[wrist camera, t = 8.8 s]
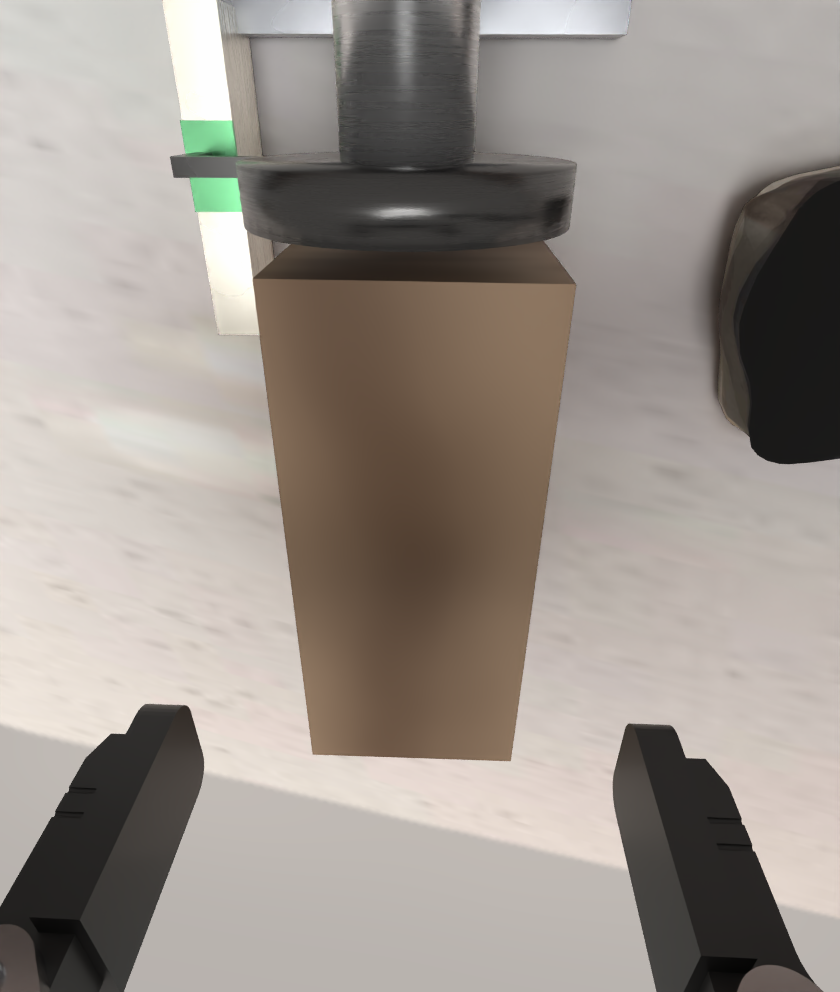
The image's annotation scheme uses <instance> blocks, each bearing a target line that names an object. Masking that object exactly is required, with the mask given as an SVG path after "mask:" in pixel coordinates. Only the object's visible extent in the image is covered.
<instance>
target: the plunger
mask: <svg viewBox="0 0 840 992" xmlns="http://www.w3.org/2000/svg"><path fill="white" fill-rule="evenodd" d="M331 4H332V22H333V40H334V58H335V76H336V94H337V113H338V131H339V149H340V152H321V153H300V154H283V155H271V156H213V152H194V153H188V154H182V155H177V156H171V157H170V159H171V164H172V170H173V176H174V178H238V186H239V193H240V201H241V208H242V216H243V223H244V228H245V230H247V231H248V232H249V233H251V234H254V235H256V236H258V237H262V238H265V239H269V240H273V241H278V242H282V243H288V244H295V245H301V246H310V247H318V248H329V249H342V250H359V251H386V252H433V251H460V250H477V249H489V248H499V247H508V246H516V245H522V244H528V243H534V242H539V241H543V240H548V239H551V238H554V237H557V236H560V235H562V234H564V233H565V232H566V231H568V230H569V226H570V218H571V210H572V202H573V194H574V185H575V177H576V169H577V163H575V162H573V161H569V160H564V159H558V158H550V157H541V156H529V155H516V154H498V153H475V152H474V147H475V124H476V102H477V79H478V57H479V34H480V11H481V0H331Z"/></svg>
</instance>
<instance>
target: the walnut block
mask: <svg viewBox="0 0 840 992" xmlns="http://www.w3.org/2000/svg"><path fill="white" fill-rule="evenodd" d="M252 280H253V288H254V296H255V303H256V311H257V319H258V327H259V335H260V343H261V351H262V359H263V366H264V374H265V382H266V390H267V398H268V406H269V414H270V422H271V429H272V437H273V445H274V453H275V461H276V469H277V477H278V485H279V492H280V500H281V508H282V516H283V524H284V532H285V540H286V548H287V555H288V563H289V571H290V579H291V587H292V595H293V603H294V611H295V618H296V626H297V634H298V642H299V650H300V658H301V666H302V674H303V682H304V689H305V697H306V705H307V713H308V721H309V729H310V737H311V745H312V752H313V754H315V755H344V756H374V757H404V758H433V759H463V760H492V761H511V755H512V748H513V741H514V733H515V726H516V719H517V712H518V704H519V697H520V690H521V682H522V675H523V668H524V661H525V653H526V646H527V639H528V632H529V624H530V617H531V610H532V602H533V595H534V588H535V581H536V573H537V566H538V559H539V551H540V544H541V537H542V530H543V522H544V515H545V508H546V501H547V493H548V486H549V479H550V471H551V464H552V457H553V450H554V442H555V435H556V428H557V421H558V413H559V406H560V399H561V391H562V384H563V377H564V370H565V362H566V355H567V348H568V340H569V333H570V326H571V319H572V311H573V304H574V297H575V290H576V283H575V282H574V281H573V279H572V278H571V277H570V275H569V274H568V273H567V271H566V270H565V269H564V268H563V266H562V265H561V264H560V262H559V261H558V260H557V258H556V257H555V256H554V254H553V253H552V252H551V250H550V249H549V248H548V246H547V245H546V244H545V242H544V241H539V242H534V243H528V244H522V245H516V246H508V247H499V248H489V249H477V250H460V251H433V252H386V251H359V250H342V249H329V248H318V247H310V246H301V245H295V244H291V245H289V246H288V247H287V248H286V249H285V250H284V251H283V252H282V253H280V254H279V255H278V256H277V257H276V258H275V259H274V260H273V261H272V262H270V263H269V264H268V265H267V266H266V267H265V268H264V269H263V270H261V271H260V272H259V273H258V274H257V275H256V276H255V277H254V278H253V279H252Z"/></svg>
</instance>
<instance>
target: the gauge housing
mask: <svg viewBox="0 0 840 992" xmlns="http://www.w3.org/2000/svg"><path fill="white" fill-rule="evenodd" d="M162 2H163V8H164V14H165V20H166V26H167V32H168V38H169V44H170V50H171V56H172V62H173V68H174V74H175V80H176V86H177V92H178V98H179V104H180V110H181V116H182V120H180V123H181V129H182V135H183V141H184V147H185V153H186V154H188V153H194V152H213V156H262V147H261V138H260V129H259V120H258V111H257V102H256V94H255V85H254V76H253V67H252V58H251V49H250V40H249V37H266V38H333V22H332V4H331V0H162ZM631 3H632V0H481V11H480V34H479V38H620V37H622V36H625V35H627V31H628V24H629V17H630V10H631ZM190 182H191V188H192V194H193V200H194V206H195V212H198V218H199V224H200V230H201V236H202V242H203V247H204V253H205V259H206V265H207V271H208V277H209V283H210V289H211V295H212V301H213V307H214V313H215V319H216V325H217V331H218V335H259V327H258V319H257V311H256V303H255V296H254V288H253V280H252V279H253V278H254V277H255V276H256V275H257V274H258V273H259V272H260V271H261V270H263V269H264V268H265V267H266V266H267V265H268V264H269V263H270V262H272V261H273V260H274V254H273V245H272V240H269V239H265V238H262V237H258V236H256V235H254V234H251V233H249V232H248V231H247V230H245V228H244V223H243V216H242V208H241V201H240V193H239V186H238V178H190Z"/></svg>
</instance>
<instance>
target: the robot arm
mask: <svg viewBox="0 0 840 992" xmlns="http://www.w3.org/2000/svg"><path fill="white" fill-rule="evenodd" d="M203 773H204V757H203V753H202V749H201V746H200V742H199V739H198V735H197V732H196V728H195V725H194V721H193V718H192V714H191V711H190V709H189V707H188V706H186V705H162V704H145V705H144V706H142V707H141V708H140V710H139V711H138V712H137V714H136V716H135V718H134V720H133V722H132V723H131V725H130V727H129V729H128V731H127V733H126V734H110V735H109V736H108V737H107V738H106V739H105V740H104V741H103V742H102V743H101V744H100V745H99V746H98V747H97V748H96V749H95V750H94V751H93V752H92V753H91V754H89V756H87V757H86V759H85V760H84V762H83V764H82V765H81V767H80V769H79V771H78V772H77V774H76V776H75V778H74V779H73V781H72V783H71V785H70V786H69V792H68V793H65V795H64V797H63V799H62V800H61V802H60V804H59V805H58V807H57V809H56V811H55V812H56V813H55V816H54V817H52V818H51V819H50V821H49V823H48V825H47V826H46V828H45V830H44V831H43V833H42V835H41V837H40V838H39V840H38V842H37V844H36V845H35V847H34V849H33V851H32V852H31V854H30V856H29V858H28V859H27V861H26V863H25V865H24V866H23V868H22V870H21V872H20V873H19V875H18V877H17V878H16V880H15V882H14V884H13V885H12V887H11V889H10V891H9V893H8V894H7V896H6V898H5V899H4V901H3V903H2V905H1V906H0V992H124V989H125V987H126V984H127V981H128V979H129V976H130V974H131V971H132V968H133V966H134V963H135V960H136V958H137V955H138V952H139V950H140V947H141V945H142V942H143V939H144V937H145V934H146V931H147V929H148V926H149V923H150V921H151V918H152V916H153V913H154V910H155V907H156V905H157V902H158V900H159V897H160V894H161V892H162V889H163V886H164V883H165V881H166V879H167V876H168V873H169V871H170V868H171V865H172V863H173V860H174V857H175V855H176V852H177V849H178V847H179V844H180V841H181V839H182V836H183V834H184V831H185V828H186V825H187V823H188V820H189V818H190V815H191V812H192V810H193V807H194V805H195V802H196V799H197V797H198V794H199V791H200V788H201V784H202V779H203ZM613 800H614V807H615V812H616V817H617V821H618V826H619V830H620V834H621V839H622V843H623V847H624V852H625V856H626V861H627V865H628V869H629V874H630V877H631V882H632V886H633V891H634V895H635V900H636V904H637V908H638V912H639V917H640V921H641V926H642V930H643V935H644V939H645V943H646V948H647V952H648V956H649V961H650V965H651V969H652V974H653V978H654V982H655V987H656V991H657V992H823V991H822V990H821V989H820V988H819V987H818V986H817V985H816V984H815V983H814V981H813V980H812V979H811V978H810V976H809V975H808V973H807V972H806V970H805V968H804V967H803V965H802V964H801V962H800V960H799V958H798V955H797V954H796V951H795V949H794V946H793V944H792V941H791V939H790V937H789V934H788V932H787V929H786V927H785V924H784V922H783V919H782V917H781V914H780V912H779V909H778V907H777V904H776V902H775V900H774V897H773V895H772V892H771V890H770V887H769V885H768V882H767V880H766V877H765V875H764V873H763V870H762V868H761V865H760V863H759V860H758V858H757V855H756V853H755V852H753V850H752V843H751V841H750V838H749V836H748V833H747V831H746V828H745V826H744V825H742V822H741V819H742V818H741V816H740V814H739V811H738V809H737V806H736V804H735V801H734V799H733V796H732V794H731V791H730V789H729V787H728V785H727V784H726V783H725V782H724V781H723V779H722V778H721V777H720V776H719V775H718V774H717V772H716V771H715V770H714V769H713V768H712V766H711V765H710V764H709V763H708V762H707V760H706V759H692V758H686V757H685V755H684V752H683V749H682V746H681V743H680V741H679V738H678V735H677V733H676V731H675V729H674V728H673V727H672V726H670V725H651V724H628V725H627V726H626V728H625V732H624V736H623V740H622V744H621V747H620V751H619V755H618V759H617V763H616V767H615V771H614V776H613Z"/></svg>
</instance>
